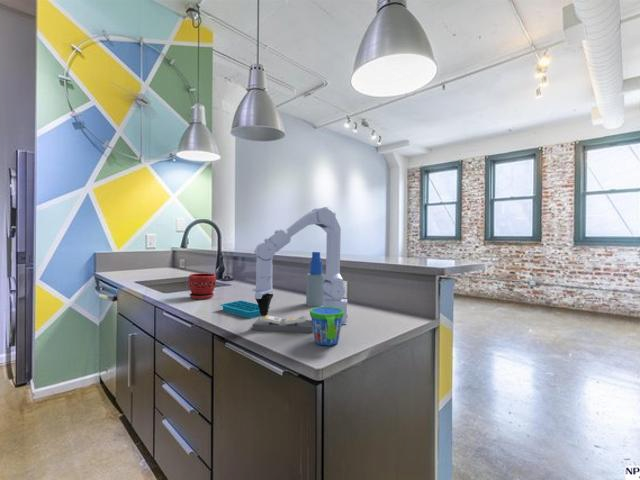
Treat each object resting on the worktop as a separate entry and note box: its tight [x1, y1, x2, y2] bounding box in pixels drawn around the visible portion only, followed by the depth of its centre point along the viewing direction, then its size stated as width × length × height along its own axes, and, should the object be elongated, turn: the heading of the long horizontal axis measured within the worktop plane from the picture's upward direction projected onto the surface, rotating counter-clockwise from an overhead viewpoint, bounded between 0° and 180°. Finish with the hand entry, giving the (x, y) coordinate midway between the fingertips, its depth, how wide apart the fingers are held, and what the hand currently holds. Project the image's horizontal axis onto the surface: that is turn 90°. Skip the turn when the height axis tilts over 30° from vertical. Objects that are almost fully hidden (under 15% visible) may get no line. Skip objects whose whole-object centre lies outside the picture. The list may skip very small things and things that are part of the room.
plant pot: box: [188, 272, 217, 300], centre depth 161 cm, size 13×13×12 cm
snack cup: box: [309, 306, 344, 347], centre depth 99 cm, size 16×10×10 cm
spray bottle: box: [305, 251, 326, 308], centre depth 150 cm, size 9×9×25 cm
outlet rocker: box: [259, 314, 283, 324], centre depth 111 cm, size 7×4×1 cm, turn 84°
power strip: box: [251, 317, 313, 334], centre depth 113 cm, size 21×8×3 cm, turn 84°
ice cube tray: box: [220, 300, 271, 319], centre depth 134 cm, size 12×20×3 cm, turn 52°
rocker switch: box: [285, 315, 308, 325], centre depth 110 cm, size 7×4×1 cm, turn 83°
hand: (263, 315), depth 112 cm, fingers closed
